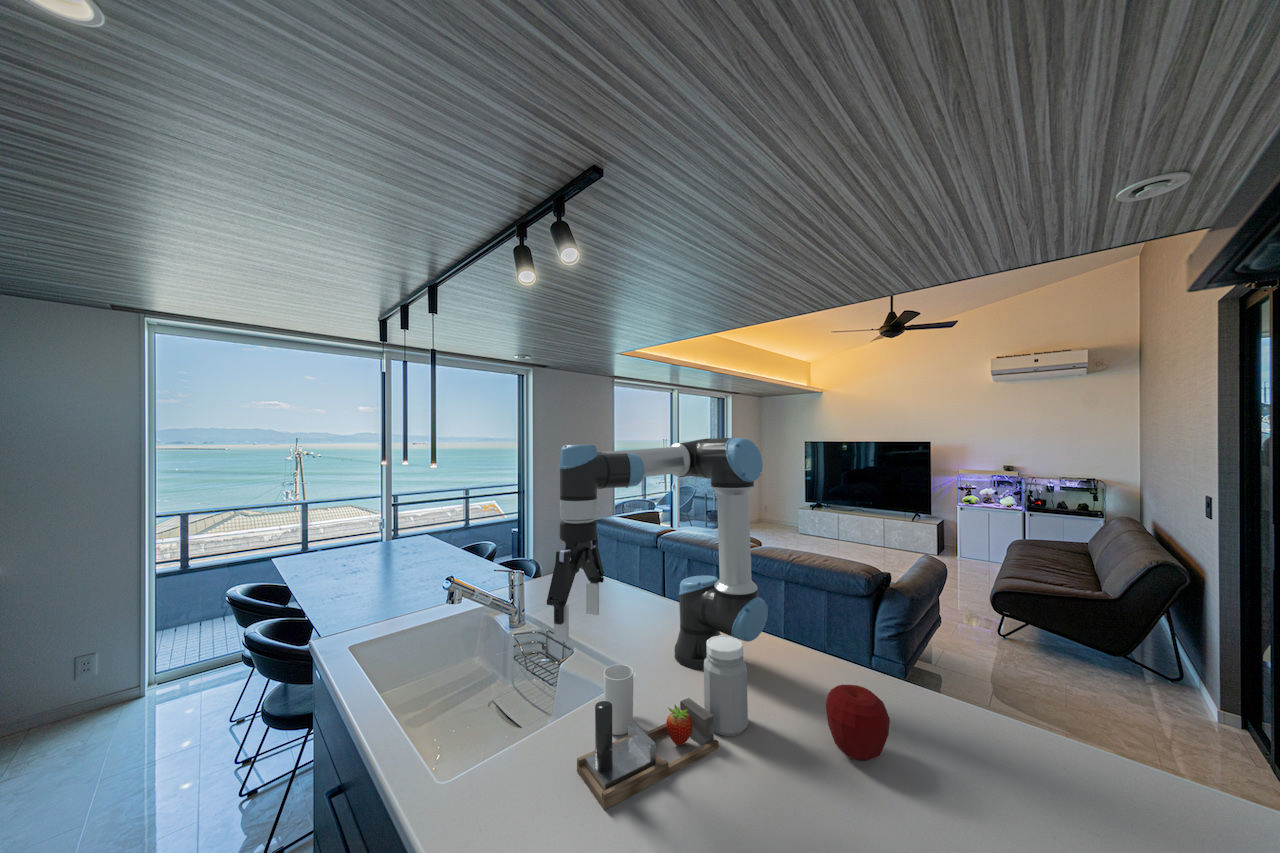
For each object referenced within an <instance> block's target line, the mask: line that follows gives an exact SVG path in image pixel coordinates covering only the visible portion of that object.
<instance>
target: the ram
mask: <svg viewBox="0 0 1280 853" xmlns="http://www.w3.org/2000/svg"><path fill="white" fill-rule="evenodd" d="M594 709H595V710H594V714H595V715H594V716H595V717H594V718H595V719H594V720H595V721H594V724H595V726H594V728H595V732H594V736H595V739H594V740H595V743H594V744H595V750H594V751H595V754H592V755H590V756H588V757H586V758H585V765H586V766H587V768H588V769H589V770H590V772H591V773H592V774H593V776H594V777H595V778H596V780H597V781H598V782H599V784H600V785H601V786H602V788H603V789H604V790H607V789H609V788H611V787H613V786H615V785H617V784H619V783H621V782H623V781H625V780H627V779H628V778H630V777H632V776H634V775H636V774H638V773H640V772H642V771H644V770H646V769H648V768H650V767H652V766H654V765H656V755H657V753H656V742H655V741H654V739H653V740H652V739H651V738H650V737H649V736H647V735H646V734H645V731H643V730H642V729H641V727H640V726H638V725H637V724H636V723H635V722H634V721H633V722H630V723H628V733H627V736H628V739H626V740H624V741H621V742H619V743H617V744H615V745H612V743H613V734H612V704H611V703H610V702H608V701H604V700H602V701H598V702H597V703H595V705H594Z"/></svg>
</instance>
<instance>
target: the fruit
mask: <svg viewBox="0 0 1280 853" xmlns="http://www.w3.org/2000/svg"><path fill="white" fill-rule="evenodd" d="M667 708H668V710H669V711H670V713H669V715H668V716H667V718H666V726H667V731H668V733H667V734H668V736H669V737H670V739H671V740H672V742H673V743H674V745H677V746H682V745H684V744H685V743H687V742H688V740H689V739H690V738H691V737H690V735H691V733H692V721H691V718H690V716H689V714H690V713H687V710H688V709H686V710H684V711H682V710H680V708H679V706H677V705H676V704H674V709H672V708H670V707H669V706H668V707H667Z"/></svg>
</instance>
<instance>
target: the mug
mask: <svg viewBox="0 0 1280 853" xmlns="http://www.w3.org/2000/svg"><path fill="white" fill-rule="evenodd" d="M603 697H604V698H603V701H608V702H610V703H611V704H612V736H623V735H625V734H628V723H630V722H634V669H633V668H632V667H631V666H630V665H629V664H627V665H626V664H621V663H620V664H611V665H609V666H608V667H606V668H605V669H604V670H603Z"/></svg>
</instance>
